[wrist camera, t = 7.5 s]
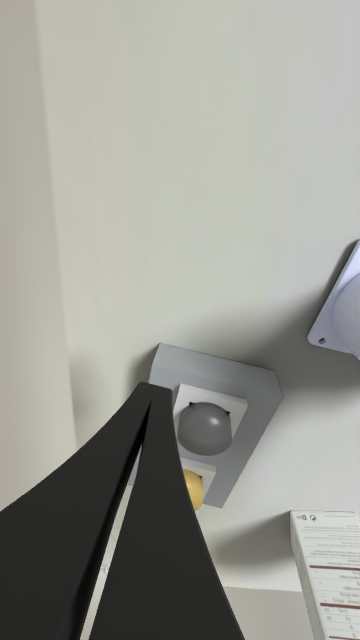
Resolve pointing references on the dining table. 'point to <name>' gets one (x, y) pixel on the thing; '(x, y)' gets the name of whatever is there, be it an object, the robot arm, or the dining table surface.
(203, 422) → the knob
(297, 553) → the supplement box
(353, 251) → the robot arm
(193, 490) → the knob
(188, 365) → the mount plate
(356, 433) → the dining table surface
